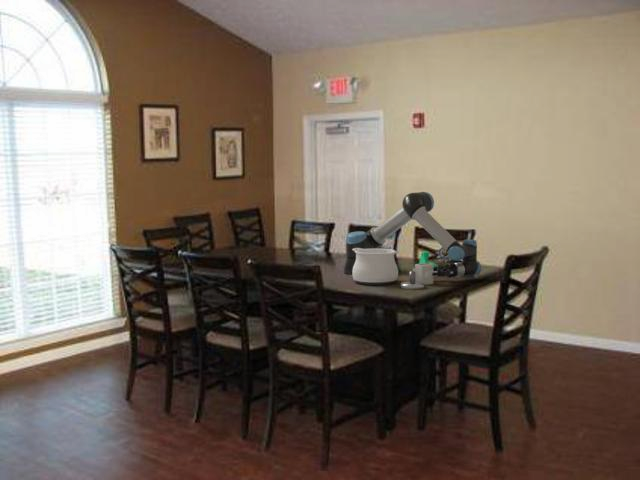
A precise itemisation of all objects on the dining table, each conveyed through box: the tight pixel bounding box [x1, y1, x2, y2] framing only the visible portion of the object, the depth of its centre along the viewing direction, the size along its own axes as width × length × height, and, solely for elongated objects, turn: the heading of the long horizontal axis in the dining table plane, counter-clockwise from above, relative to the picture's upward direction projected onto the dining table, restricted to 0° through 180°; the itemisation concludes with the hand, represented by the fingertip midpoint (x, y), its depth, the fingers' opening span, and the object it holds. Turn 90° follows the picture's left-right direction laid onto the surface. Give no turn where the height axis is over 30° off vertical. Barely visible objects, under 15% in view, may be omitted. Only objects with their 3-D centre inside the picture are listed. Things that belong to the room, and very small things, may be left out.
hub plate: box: [400, 270, 425, 290], centre depth 368 cm, size 12×12×8 cm
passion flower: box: [435, 246, 454, 264], centre depth 458 cm, size 11×11×12 cm
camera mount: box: [418, 250, 439, 267], centre depth 433 cm, size 12×8×10 cm, turn 12°
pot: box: [351, 248, 400, 286], centre depth 384 cm, size 28×24×17 cm
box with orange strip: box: [414, 262, 434, 286], centre depth 379 cm, size 7×7×11 cm
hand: (419, 272), depth 377 cm, fingers open, 13 cm apart
